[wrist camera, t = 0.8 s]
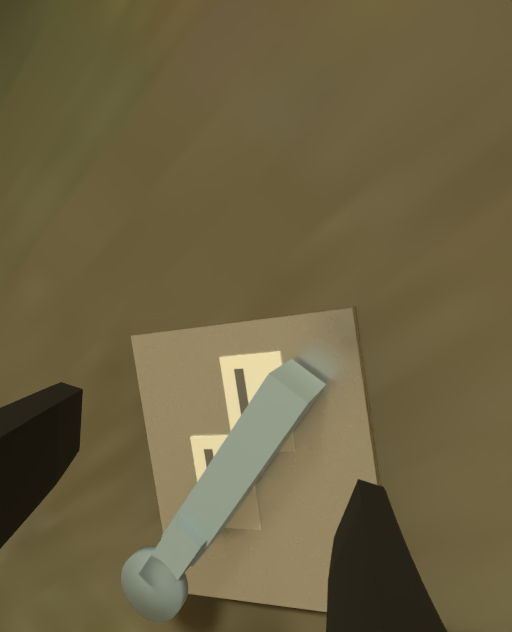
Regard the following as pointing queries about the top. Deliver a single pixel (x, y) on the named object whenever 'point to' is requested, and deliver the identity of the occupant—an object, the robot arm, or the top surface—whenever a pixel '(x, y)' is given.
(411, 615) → the robot arm
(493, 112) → the top surface
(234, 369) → the power supply label
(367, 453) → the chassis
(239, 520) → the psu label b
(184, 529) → the swing arm
